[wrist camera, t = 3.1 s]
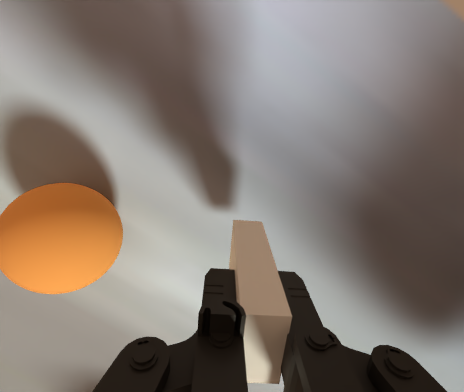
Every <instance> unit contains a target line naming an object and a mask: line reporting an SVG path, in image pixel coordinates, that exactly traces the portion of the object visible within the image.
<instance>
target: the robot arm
mask: <svg viewBox="0 0 464 392" xmlns="http://www.w3.org/2000/svg"><path fill="white" fill-rule="evenodd" d="M281 372H282V377H283V381H284V391H283V392H447V391H446V390H445V389H444V388H443V387H442V386H441V385H440V384H439V383H438V382H437V381H436V380H435V379H434V378H433V377H432V376H431V375H430V374H429V373H428V372H427V371H426V370H425V369H424V368H423V367H422V366H421V365H420V364H419V363H418V362H417V361H416V360H415V359H414V358H412V357H411V356H410V355H409V354H407V353H406V352H404V351H402V350H400V349H398V348H396V347H392V346H389V345H379V346H377V347H375V348H374V349H373V351H372V353H371V355H369V354H366V353H363V352H360V351H356V350H353V349H350V348H348V347H345V346H343V345H341V343H340V341H339V340H338V338H337V337H336V335H335V334H333V333H332V332H331V331H330V330H329V329H327V328H325V327H323V324H322V322H321V320H320V318H319V316H318V313H317V311H316V309H315V307H314V304H313V302H312V300H311V298H310V295H309V293H308V291H307V289H306V286H305V284H304V282H303V280H302V279H301V278H300V277H299V276H298V275H297V274H296V273H295V272H285V271H277V267H276V264H275V261H274V258H273V255H272V252H271V249H270V245H269V242H268V239H267V236H266V233H265V230H264V227H263V223H262V222H258V221H243V220H233V230H232V241H231V252H230V262H229V269H214V268H211V269H210V270H209V271H208V273H207V274H206V275H205V281H204V290H203V299H202V307H201V309H200V311H199V317H198V329H197V331H196V333H195V334H194V335H193V336H192V337H190V338H189V339H187V340H185V341H183V342H180V343H177V344H173V345H169V346H167V344H166V343H165V342H164V341H163V340H161V339H159V338H156V337H143V338H139V339H136V340H134V341H133V342H131V343H129V344H128V345H127V346H126V347H125V348H124V349H123V350H122V351H121V352H120V353H119V355H118V356H117V358H116V359H115V360H114V362H113V363H112V365H111V366H110V368H109V369H108V370H107V372H106V373H105V375H104V376H103V377H102V379H101V380H100V382H99V383H98V385H97V386H96V387H95V389H94V390H93V392H248V386H247V383H272V384H279V382H280V376H281Z"/></svg>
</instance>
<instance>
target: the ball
mask: <svg viewBox="0 0 464 392" xmlns="http://www.w3.org/2000/svg"><path fill="white" fill-rule="evenodd" d="M122 239H123V229H122V223H121V220H120V217H119V214H118V212H117V211H116V209H115V207H114V206H113V205H112V203H111V202H110V201H109V200H108V199H107V198H105V197H104V196H103V195H102V194H100V193H99V192H97V191H95V190H93V189H91V188H88V187H85V186H82V185H78V184H72V183H54V184H47V185H43V186H40V187H37V188H34V189H32V190H29V191H27V192H26V193H24V194H22V195H21V196H19V197H18V198H16V199H15V200H14V201H13V202H12V203H11V204H9V205H8V207H7V208H6V209H5V210H4V212H3V213H2V214H1V216H0V269H1V271H2V272H3V273H4V274H5V275H6V276H7V277H8V278H9V279H10V280H11V281H12V282H14V283H15V284H17V285H19V286H20V287H22V288H25V289H27V290H30V291H33V292H37V293H44V294H60V293H67V292H72V291H75V290H78V289H81V288H83V287H85V286H87V285H89V284H91V283H93V282H94V281H96V280H97V279H99V278H100V277H101V276H102V275H103V274H104V273H106V272H107V270H108V269H109V268H110V267H111V266H112V264H113V263H114V261H115V260H116V258H117V256H118V254H119V251H120V248H121V245H122Z"/></svg>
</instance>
